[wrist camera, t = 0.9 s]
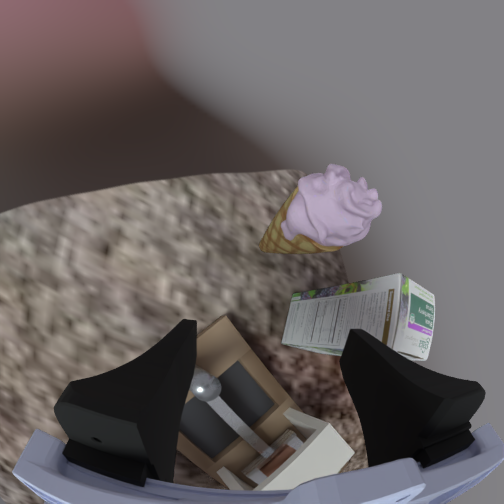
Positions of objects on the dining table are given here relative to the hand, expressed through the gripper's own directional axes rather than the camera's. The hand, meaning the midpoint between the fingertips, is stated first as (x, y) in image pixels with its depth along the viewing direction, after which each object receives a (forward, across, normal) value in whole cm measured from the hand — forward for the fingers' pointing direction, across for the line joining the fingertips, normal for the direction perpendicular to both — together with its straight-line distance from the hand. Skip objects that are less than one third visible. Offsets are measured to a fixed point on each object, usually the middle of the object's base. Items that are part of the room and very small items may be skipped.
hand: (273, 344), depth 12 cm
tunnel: (+5, -3, +19) cm, 20 cm away
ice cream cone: (+18, 0, +1) cm, 18 cm away
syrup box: (+15, -6, +8) cm, 19 cm away
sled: (+5, 0, +15) cm, 16 cm away
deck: (+6, -2, +19) cm, 20 cm away
